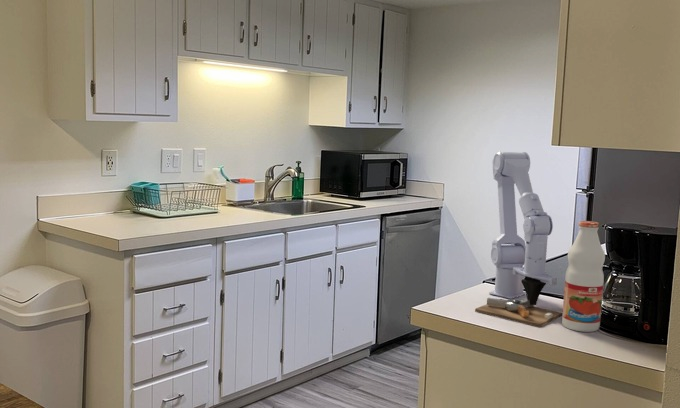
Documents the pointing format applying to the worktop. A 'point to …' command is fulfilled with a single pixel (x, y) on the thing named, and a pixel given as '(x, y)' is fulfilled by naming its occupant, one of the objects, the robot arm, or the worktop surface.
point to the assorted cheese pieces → (512, 305)
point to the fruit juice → (584, 280)
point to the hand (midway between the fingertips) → (532, 304)
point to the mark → (548, 315)
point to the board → (534, 317)
